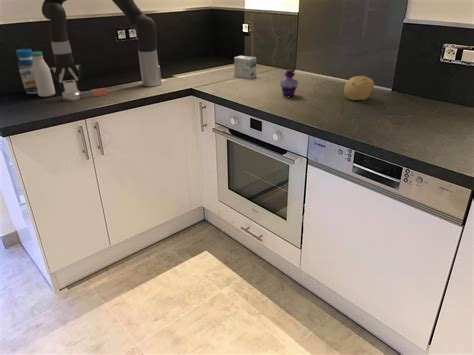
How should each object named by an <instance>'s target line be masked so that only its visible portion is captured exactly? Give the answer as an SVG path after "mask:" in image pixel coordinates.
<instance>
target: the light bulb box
mask: <svg viewBox="0 0 474 355" xmlns="http://www.w3.org/2000/svg"><path fill="white" fill-rule="evenodd" d="M233 59H234V63H233V65H234V78H241V79H247V78H248V79H249V80H251V79H254V78H255V77H257V57H256V56H245V55H238V56H235V57H233Z"/></svg>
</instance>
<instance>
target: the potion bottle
mask: <svg viewBox="0 0 474 355" xmlns="http://www.w3.org/2000/svg"><path fill="white" fill-rule="evenodd" d="M284 76H285V77H286V78H284V79H281V80H279V82H280V87H281V91H282V96H283V95H284V96H289V97H288V98H291V97H290V96H295V94H296V93H295V92H296V90H297V88H298V84H299V80H297V79H294V77H295V72H294V70H293V69H287V70H286V72H285V73H284ZM284 96H283V97H284Z"/></svg>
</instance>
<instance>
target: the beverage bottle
mask: <svg viewBox="0 0 474 355" xmlns="http://www.w3.org/2000/svg"><path fill="white" fill-rule="evenodd" d="M32 52H33V50H32V49H31V48H21V49H16V50H15V54H16V57H17V58H18V62H17V66H18V72H19V75H20V78H21V81H22V84H23V88H24V92H25V93H26V94H29V95H30V94H32V95H33V94H38V92H37V89H36V85H35V81H34V77H33V72H32V66H33V58H32V55H31V53H32Z"/></svg>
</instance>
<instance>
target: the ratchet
mask: <svg viewBox="0 0 474 355" xmlns="http://www.w3.org/2000/svg"><path fill="white" fill-rule="evenodd" d="M77 90H78V93H73V94H66V93H65V91H62V92H61V95H62V100H63V101H65V102H75V101H79V100H81V99H86V98H92V97H95V98H96V97H100V96H108V95H109V94H108V93H109V92H108V88H106V87H100V88H93V89H90V90H86V91H80V89H77Z"/></svg>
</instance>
